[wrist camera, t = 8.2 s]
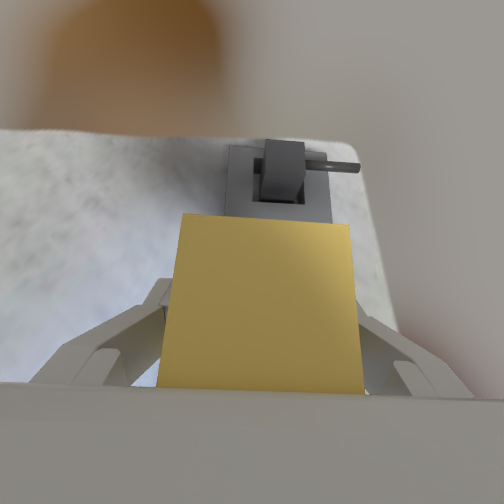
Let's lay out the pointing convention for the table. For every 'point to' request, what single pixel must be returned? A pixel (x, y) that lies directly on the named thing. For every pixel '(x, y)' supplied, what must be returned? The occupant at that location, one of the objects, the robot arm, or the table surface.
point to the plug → (262, 308)
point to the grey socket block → (281, 182)
